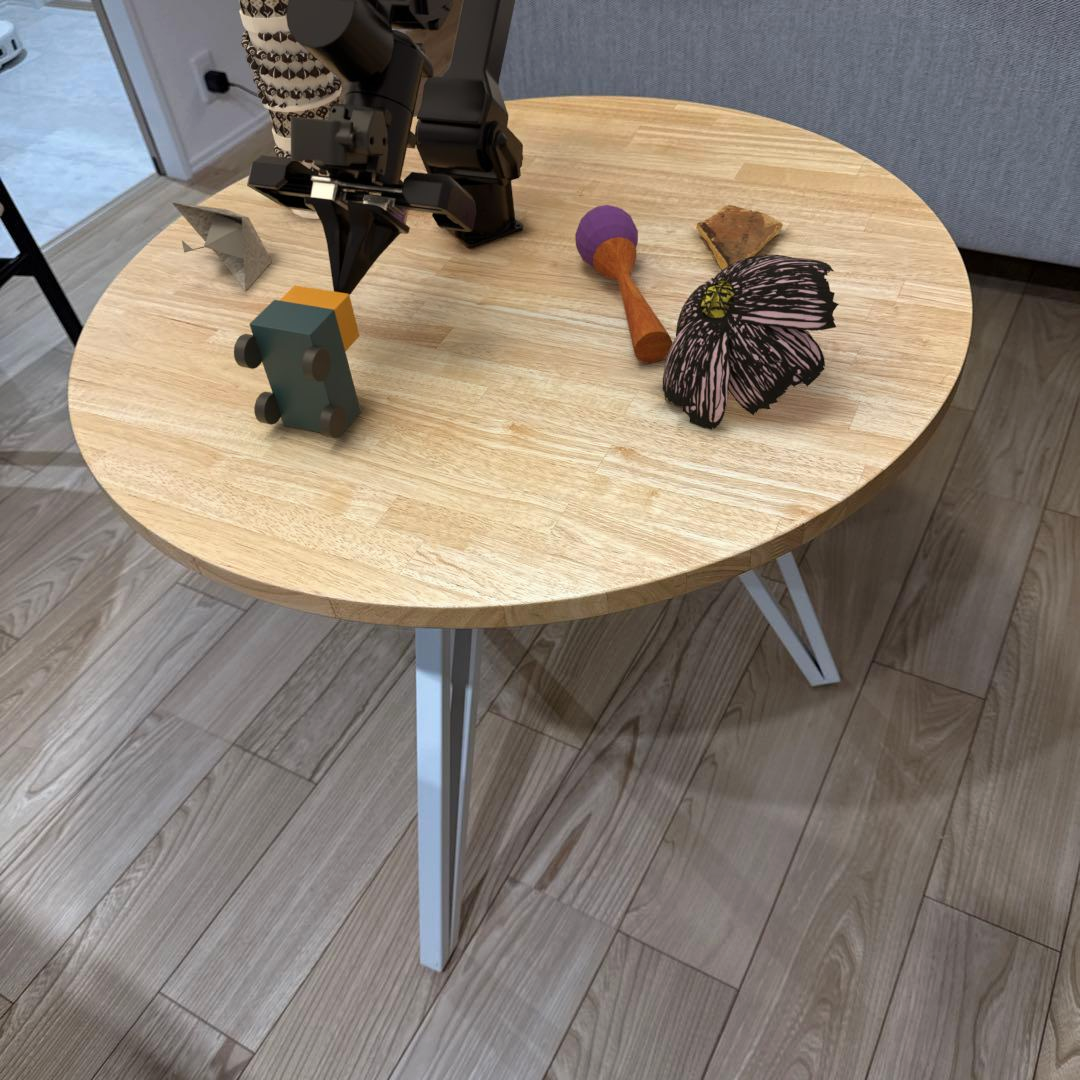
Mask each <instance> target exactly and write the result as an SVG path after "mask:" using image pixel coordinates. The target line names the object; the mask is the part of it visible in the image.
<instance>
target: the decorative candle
mask: <svg viewBox="0 0 1080 1080" xmlns="http://www.w3.org/2000/svg"><path fill="white" fill-rule="evenodd" d="M288 2H289V0H238V3H239V7H240V9H239V11H238V12H239V16H240V20H241V23H242V26H243V28H244V29H245V31H244V32H243V33H242V35H241V42H240V43H241V46H242V47H243V48H244V49H245V52H246V54H247V55H246V56H245V61H246V62H247V63H248V65H249V69H251V70H253V75H254V76H253V77H252V81H253V83H254V84H255V85H256V88H257V90H258V91H257V93H256V96H257V97H258V98H259V99H260V103H261V104H262V106H263V107H264V109H267V110H268V116H269V119H270V121H271V124H272V128H271V132H272V137H273V140H274V143H275V146H274V147H273V152H274V153H275V156H276V157H282V158H291V117H302V118H313V119H324V120H328V117H329V113H330V109H331V107H333V103H336V104H342V102H341V99H340V95H341V92H342V89H343V87H342V80H341V79H339V78H338V77H337V76H334V74H333V73H332V72H331V71H330V70H329V69H327V68H326V67H325V66H324V65H323V64H322V63H321V62H320V61H318V60H317V59H316V58H315V57H314V56H313V55H312V54H311V53H309V52H308V51H307V50H306V49H305V48H304V47H303V46H302V45H300V44H299V43H298V42H297V41H296V40H295V39H294V37H293V36H292V35H291V33H290V31H289V28H288V25H287V18H286V15H287V6H288ZM314 161H315V160H308V159H305V160H304V161H302V162H301V161H299V162H300V163H302V164H303V165H305V166H306V167H308V168H309V169H310V170H312V171H313V172H315V173H316V174H318V175H323V176H329V172H328V171H327V170H321V169H320V168H318V167H317V166H315V165H314ZM344 191H347V192H354V190H349V189H347V190H346V189H344ZM291 211H292V213H293V214H294V215H296V216H298V217H300V218H303V219H311V220H320V219H319V217H318V215H317V213H316V211H315V212H311V211H303V210H295V209H291Z"/></svg>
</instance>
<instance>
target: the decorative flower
mask: <svg viewBox="0 0 1080 1080" xmlns="http://www.w3.org/2000/svg"><path fill="white" fill-rule="evenodd" d="M830 272H835V270H834V269H833V267H832V266H831V265H830V264H829V263H828V262H825V261H821V260H817V259H811V258H805V257H792V256H787V255H779V254H762V255H761V254H760V255H755V256H753V257H749V258H744V259H742V260H740V261H737V262H735V263H733V264H731V265H730V266H728V267H726V268H724V269H723V270H722V269H721V271H719V272H718V273H716V275H715V276H714V277H711V278H710V279H708V280H706V281H705V282H704V283H702V284H700V285H699V286H698V287H696V288H695V290H693V292H692V293H691V294H690V295H689V297H688V298H687V299H686V301H685V302H684V304H683V306H682V307H681V311H680V312H679V315H678V319H677V323H676V329H675V330H676V331H675V338H674V340H672V345H671V347H670V350H669V352H668V355H667V356H666V357H665V358H666V359H665V363H664V369H663V375H662V391H663V394H664V400H665V401H668V404H669V405H671V404H673V405H674V406H675V407H678V408H679V407H680V408H682V409H681V411H682V413H684V414H685V415H687V417H688V419H689V423H690V424H692V425H695V426H697V427H701V428H703V429H709V430H711V431H712V430H715V429H716V428H717V427H718V426H720V424H721V423H722V421H723V419H724V417H725V413H726V408H727V406H728V402H729V401H728V400H729V394H730V395H731V397H732V398H733V399H734V400H735V401H736V403H738V405H739V406H740V407H741V408H742V409H743V410H745V411H746V412H748V413H749V414H750V415H752V416H755V414H756V413H758V411H759V410H769V411H770V410H772V407H771V405H774V404H777V403H779V400H778V399H779V398H780V397H781V396H783V395H784V394H785V393H787V391H788V390H789V387H791V386H792V387H793V388H796V387H797V386H798V385H805V386H806V387H807V388H808V387H809V386H810V385H811V384H812V383H814V381H815V380H816V379H818V378H819V377H820V375H821V373H822V372H824V371H825V370H826V369H825V367H826V361H825V355H824V353H823V350H822V348H821V347H820V345H819V344H818V342H817V341H816V340H815V339H814V337H813V335H811V333H810V332H815V331H816V332H818V331H825V330H830V329H834V328H837V326H836V322H835V321H836V320H835V318H834V311H835V310H836V309H837V307H838V306H839V303H837V302H835V301H834V299H835V295H836V294H835V292H833V291H831V288H830V282H829V280H827V278H826V277H827V276H828V274H829V273H830ZM825 276H826V277H825ZM809 331H810V332H809Z"/></svg>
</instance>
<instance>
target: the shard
mask: <svg viewBox="0 0 1080 1080" xmlns="http://www.w3.org/2000/svg"><path fill="white" fill-rule="evenodd" d="M783 227H784V223H783V222H782V221H780V220H779V219H776V218H775V217H773V216H771V215H769V214H768V213H763V212H761V211H756V210H751V209H748V208H745V207H744V208H743V207H739V206H737V205H732V204H726V205H723V206H722V207H721V208H720V209H719V210H718V211H716V212H715V213H714V214H713V215H711V216H709V217H708V218H706V219H705V220H703V221H700V222H697V223H696V227H695V228H696V229H697V232H698V234H699V235H700V237H701V238H703V239H704V240H705V241H706V242H707V245H708V248H710V250H711V252H712V253H713V257H714V258H715V260H716V262H717V264H718V265H719V267H720V269H721V271H722V270H723V269H724V268H726V267H728V266H730V265H731V264H733V263H735V262H737V261H740V260H742V259H744V258H749V257H753V256H756V255H757V254H758V253H759V252H760V251H762V249H763V248H764V247H765V246H766V244H768V243H769V242H770V241H771V240H772V239H773V238H774V237H776V236H778V235H779V234H780V233H781V231H782V228H783Z"/></svg>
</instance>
